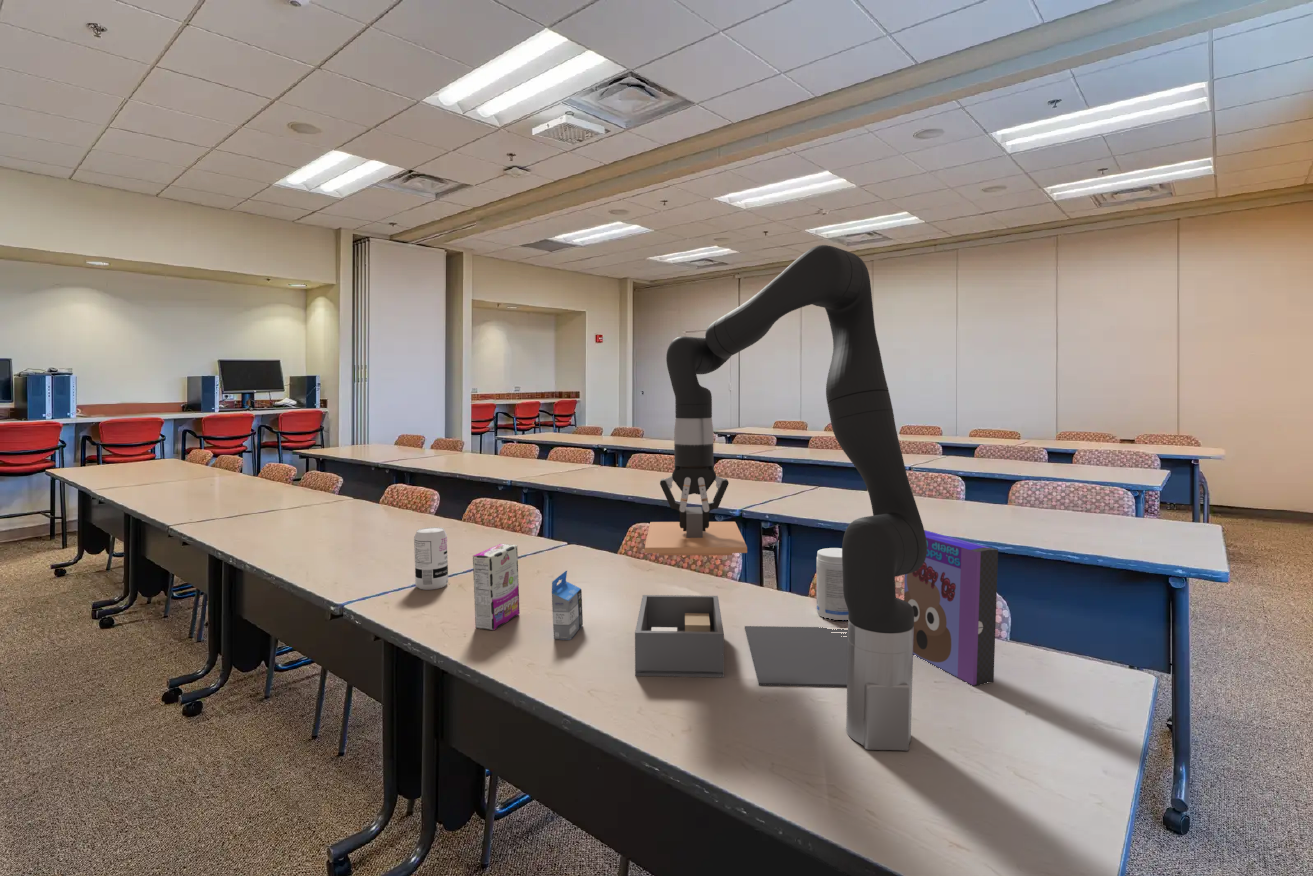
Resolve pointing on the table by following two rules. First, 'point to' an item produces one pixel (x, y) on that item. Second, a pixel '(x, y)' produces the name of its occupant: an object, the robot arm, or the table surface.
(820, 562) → the supplement tub
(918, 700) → the table surface
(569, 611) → the label tape box
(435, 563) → the supplement can
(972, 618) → the cereal box
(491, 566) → the candy bar box
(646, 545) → the lid
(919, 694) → the table surface
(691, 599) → the storage box
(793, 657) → the rubber mat
